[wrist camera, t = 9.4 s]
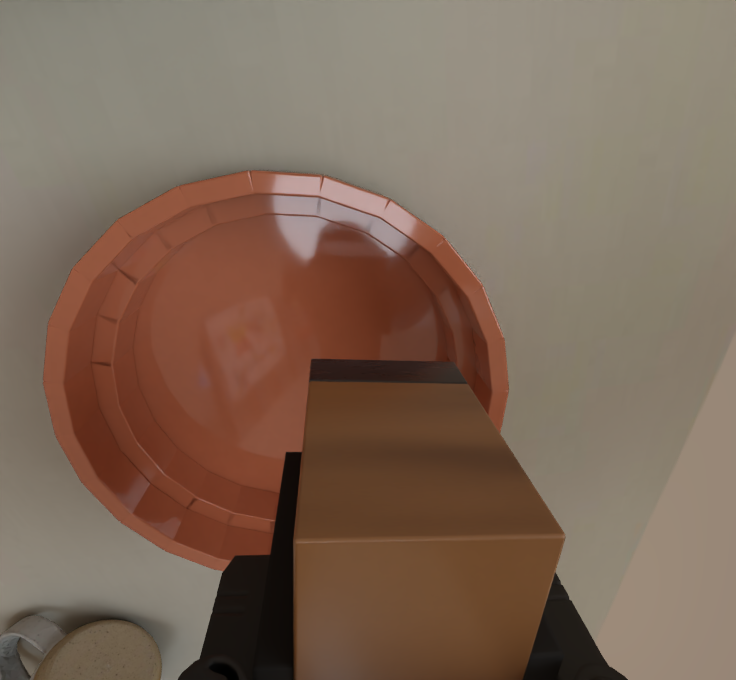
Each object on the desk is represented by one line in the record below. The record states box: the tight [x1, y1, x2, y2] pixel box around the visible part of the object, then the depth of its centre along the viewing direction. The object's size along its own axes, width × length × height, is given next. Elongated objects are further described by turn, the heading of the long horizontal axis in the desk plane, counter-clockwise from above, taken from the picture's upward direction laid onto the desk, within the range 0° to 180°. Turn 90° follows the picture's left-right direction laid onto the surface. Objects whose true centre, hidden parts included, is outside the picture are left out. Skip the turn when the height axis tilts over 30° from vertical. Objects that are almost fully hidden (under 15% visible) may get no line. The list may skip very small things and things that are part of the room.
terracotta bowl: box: [43, 170, 509, 571], centre depth 21 cm, size 20×20×5 cm
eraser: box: [293, 359, 565, 680], centre depth 12 cm, size 9×4×7 cm, turn 176°
